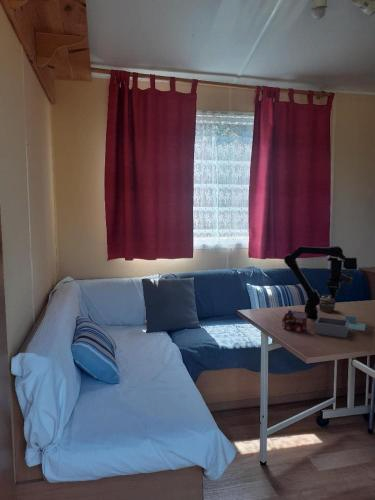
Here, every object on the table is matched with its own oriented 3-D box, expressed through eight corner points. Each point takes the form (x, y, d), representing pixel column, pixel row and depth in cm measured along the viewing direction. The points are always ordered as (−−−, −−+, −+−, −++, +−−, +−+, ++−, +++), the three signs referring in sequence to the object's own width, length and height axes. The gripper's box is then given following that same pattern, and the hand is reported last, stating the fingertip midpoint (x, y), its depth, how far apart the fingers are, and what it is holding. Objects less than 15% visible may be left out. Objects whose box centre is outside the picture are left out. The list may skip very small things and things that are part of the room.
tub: (314, 334, 172) (315, 322, 172) (318, 328, 183) (318, 316, 182) (346, 339, 166) (346, 326, 165) (348, 332, 176) (348, 320, 176)
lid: (333, 329, 182) (333, 319, 182) (336, 322, 193) (336, 313, 193) (364, 333, 175) (365, 323, 175) (365, 326, 186) (366, 317, 186)
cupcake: (336, 309, 219) (336, 293, 218) (333, 313, 211) (334, 296, 210) (320, 307, 224) (320, 292, 223) (316, 311, 216) (317, 295, 215)
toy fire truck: (284, 327, 185) (285, 307, 184) (309, 331, 178) (309, 310, 177) (280, 330, 179) (280, 310, 178) (305, 334, 173) (305, 314, 172)
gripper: (350, 272, 183) (348, 302, 184) (353, 268, 199) (352, 295, 201) (327, 270, 188) (326, 299, 190) (332, 266, 205) (331, 293, 206)
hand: (334, 297), depth 196 cm, fingers open, 9 cm apart
